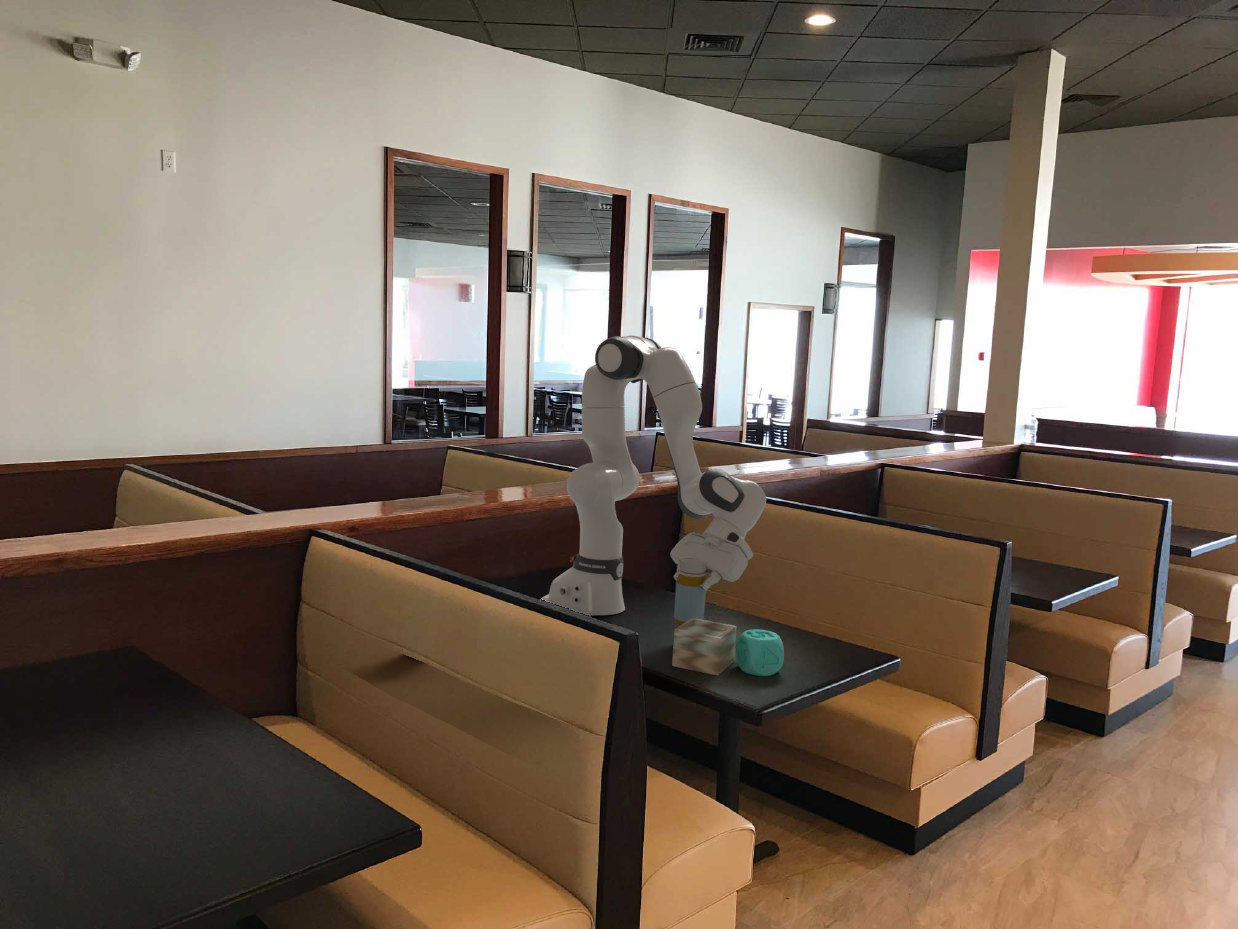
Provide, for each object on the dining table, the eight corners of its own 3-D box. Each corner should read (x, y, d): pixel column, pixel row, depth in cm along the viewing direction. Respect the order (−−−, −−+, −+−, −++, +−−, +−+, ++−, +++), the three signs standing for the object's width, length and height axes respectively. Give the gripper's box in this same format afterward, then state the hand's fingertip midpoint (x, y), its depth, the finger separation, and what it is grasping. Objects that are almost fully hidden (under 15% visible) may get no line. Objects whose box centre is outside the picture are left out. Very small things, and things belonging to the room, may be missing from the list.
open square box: (672, 665, 202) (674, 629, 201) (690, 652, 212) (692, 617, 211) (717, 675, 198) (720, 638, 197) (734, 661, 207) (736, 626, 206)
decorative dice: (783, 675, 200) (785, 639, 199) (749, 677, 198) (751, 641, 197) (767, 663, 208) (769, 628, 207) (734, 664, 205) (736, 629, 204)
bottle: (703, 619, 221) (708, 558, 219) (702, 628, 214) (708, 565, 212) (674, 617, 222) (678, 556, 220) (672, 626, 215) (677, 563, 213)
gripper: (684, 522, 227) (653, 565, 222) (748, 539, 212) (715, 586, 207) (696, 538, 231) (665, 581, 226) (759, 556, 216) (727, 603, 211)
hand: (689, 584), depth 216 cm, fingers closed on bottle, 7 cm apart
